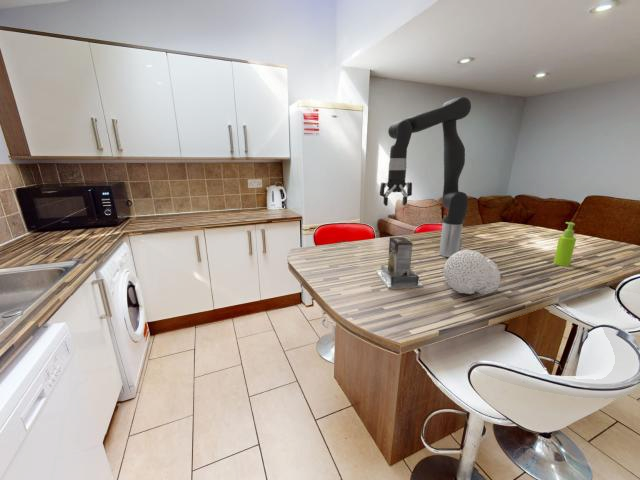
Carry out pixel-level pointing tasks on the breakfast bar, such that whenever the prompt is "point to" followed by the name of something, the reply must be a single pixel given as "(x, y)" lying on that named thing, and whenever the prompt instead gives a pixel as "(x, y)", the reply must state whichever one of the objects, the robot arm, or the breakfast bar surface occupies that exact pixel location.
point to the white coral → (471, 273)
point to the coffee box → (399, 256)
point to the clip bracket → (399, 280)
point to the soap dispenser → (565, 247)
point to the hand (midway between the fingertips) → (394, 205)
